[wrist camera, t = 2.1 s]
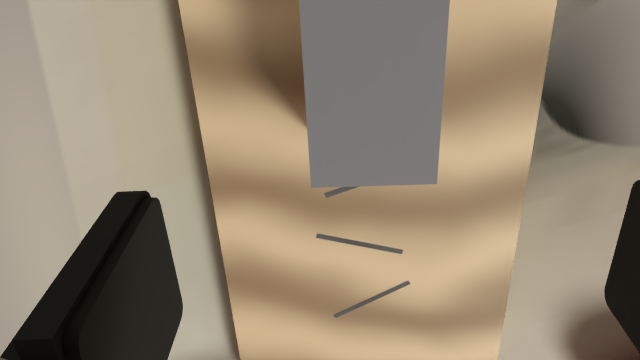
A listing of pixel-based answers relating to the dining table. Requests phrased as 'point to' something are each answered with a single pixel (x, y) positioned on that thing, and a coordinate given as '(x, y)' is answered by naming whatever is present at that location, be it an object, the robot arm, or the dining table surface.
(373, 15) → the block
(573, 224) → the dining table surface
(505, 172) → the oak board
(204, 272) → the dining table surface
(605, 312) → the dining table surface
